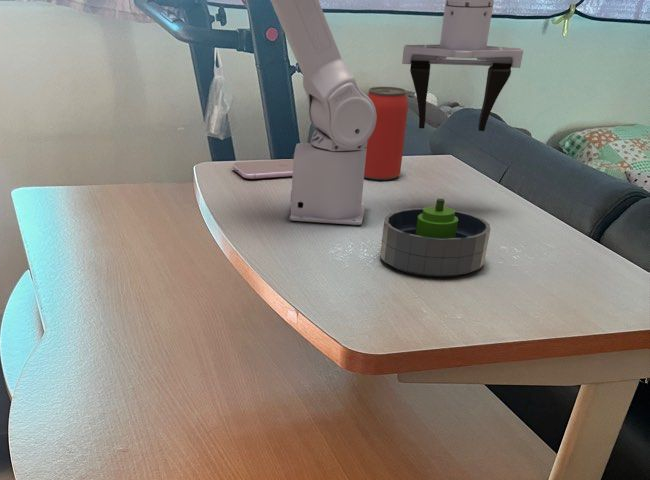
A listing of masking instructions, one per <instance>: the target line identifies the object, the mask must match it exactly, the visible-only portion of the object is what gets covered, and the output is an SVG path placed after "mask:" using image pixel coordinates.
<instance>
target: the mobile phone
mask: <svg viewBox="0 0 650 480" xmlns="http://www.w3.org/2000/svg"><path fill="white" fill-rule="evenodd" d="M293 161H294V158H289V159H275V160H273V159H272V160H260V161H259V160H258V161H244V162H235V163H233V164H232V169H233V170H234V172H236V173H237V174H239V175H240V176H241V177H242V178H244V179H246V180H257V179H258V180H259V179H271V178H287V177H292V176H293Z"/></svg>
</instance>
